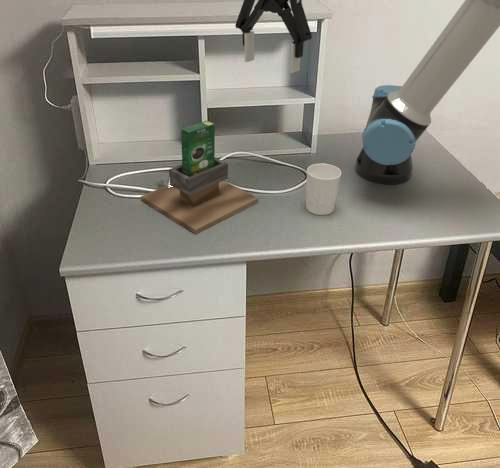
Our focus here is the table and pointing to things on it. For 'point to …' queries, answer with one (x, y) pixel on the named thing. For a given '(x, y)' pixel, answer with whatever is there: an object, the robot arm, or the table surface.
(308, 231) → the table surface
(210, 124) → the coffee box
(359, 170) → the robot arm
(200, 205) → the display stand
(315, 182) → the white cup
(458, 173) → the table surface
